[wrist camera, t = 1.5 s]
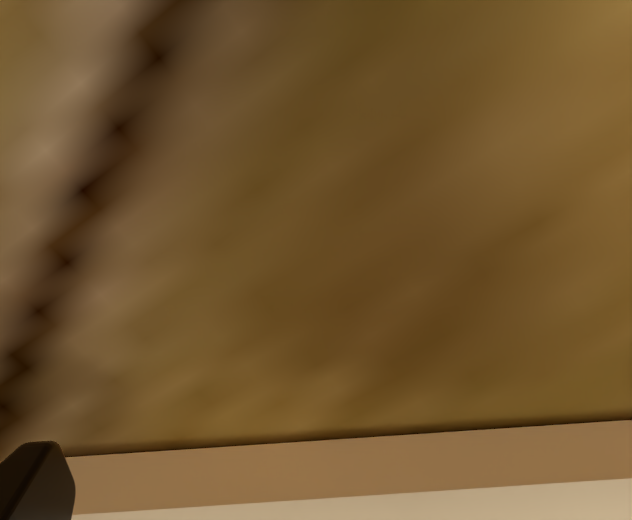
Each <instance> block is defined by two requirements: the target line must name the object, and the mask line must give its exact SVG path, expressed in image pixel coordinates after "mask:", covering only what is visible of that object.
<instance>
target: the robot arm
mask: <svg viewBox="0 0 632 520" xmlns="http://www.w3.org/2000/svg"><path fill="white" fill-rule="evenodd" d="M75 496H76V487H75V482H74V478H73V476H72V473H71V471H70V469H69V466H68V464H67V461H66V459H65V456H64V454H63V451H62V449H61V447H60V445H59V444H58V443H57V442H55V441H41V442H28V443H25V444H23V445H21V446H20V447H18V448H17V449H16V450H15V451H14V452H13V453H12V454H10V455H9V456H8V457H7V458H6V459H5V460H4V461H3V462H2V463H0V520H71V518H72V513H73V508H74V503H75Z"/></svg>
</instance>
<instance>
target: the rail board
mask: <svg viewBox="0 0 632 520" xmlns="http://www.w3.org/2000/svg"><path fill="white" fill-rule="evenodd" d="M65 459H66V461H67V464H68V466H69V469H70V471H71V473H72V476H73V478H74V482H75V487H76V496H75V503H74V508H73V513H72V518H71V520H632V420H623V421H608V422H593V423H578V424H563V425H547V426H532V427H517V428H502V429H487V430H472V431H457V432H442V433H427V434H411V435H396V436H381V437H366V438H351V439H336V440H321V441H306V442H291V443H275V444H260V445H245V446H230V447H215V448H200V449H185V450H170V451H155V452H140V453H124V454H109V455H94V456H79V457H65Z"/></svg>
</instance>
